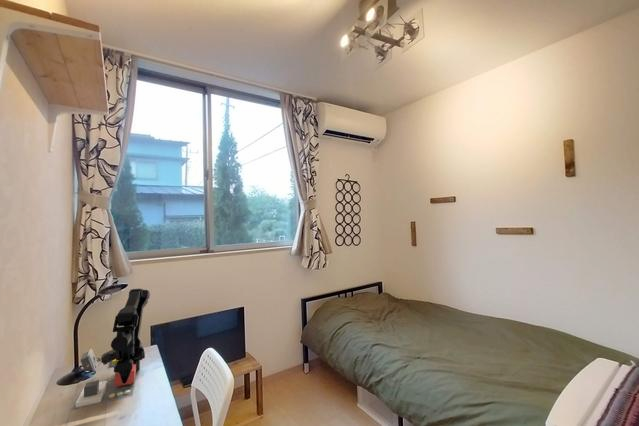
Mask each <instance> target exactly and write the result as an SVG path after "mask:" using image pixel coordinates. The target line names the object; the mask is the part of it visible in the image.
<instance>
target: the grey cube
mask: <svg viewBox="0 0 639 426" xmlns="http://www.w3.org/2000/svg"><path fill="white" fill-rule="evenodd" d="M99 382H100V379H99V380H98V379H97V380H93V381H88V382H86V383H85V385H84V386H85V387H84V386H83V387H84V397H87V396H92V395H96V394H97V393H98V390H99Z"/></svg>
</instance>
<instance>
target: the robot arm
mask: <svg viewBox="0 0 639 426" xmlns="http://www.w3.org/2000/svg"><path fill="white" fill-rule="evenodd" d="M150 295H151V294H150V290H147V289H143V288H132V289H129V292H128V298H127V301H126V303H125V305H124V307H123V308H121V309H120V310H119V311H118V313H117V314H116V315H115V318H114V323H113V328H112V332H113V333H116V335H115V337H114V338H113V339H112V340H111V343H110V347H111V349H110V350H109V351H107V352H104V353H103V354H102V355H101V357H100V360H101V361H100V362H101V363H102V364H103V365H104V366H106V365H107V364H108V363H111V362H112V361H113V360H115V359H116V361H117V360H119V361H118V362H117V363H116V364H115V366H114V368H113V373H114V374H115V373H116V372H119V373H120V375H121V379H122V382H123V384H124V383H126V382H127V379H128V377H129V375H130V372H131V370H132V368H133V365H134V364H136V373H138V372H139V371H140V370H141V369H140V368H141V361H142V360H144V359H145V358H146V353H145V352H146V351H145V349H144V346H143V343H142V341H141V339H140V334H141V328H142V327H141V326H142V320H143V311H144V308H145V307H146V306H147V304H148V303H149V300H150V297H151V296H150Z"/></svg>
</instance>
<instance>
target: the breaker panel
mask: <svg viewBox="0 0 639 426" xmlns="http://www.w3.org/2000/svg"><path fill="white" fill-rule="evenodd" d="M136 380H137V376H135V381H134V383H130V384H125V385H120V386H116V387H115V380H112V381H108V380H103V381H99V390H98V393H97V394H96V395H92V396H87V397H84V387H85V385H84V386H83V387H81V390H80V392H79V393H78V395H77V397H76V399H75V401H74V402H73V405H72V407H71V408H70V411H74V410H78V409H82V408H87V407H91V406H95V405H99V404H103V403H109V402H113V401H117V400H121V399H125V398H130V397H133V394H134V390H135V386H136Z"/></svg>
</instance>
